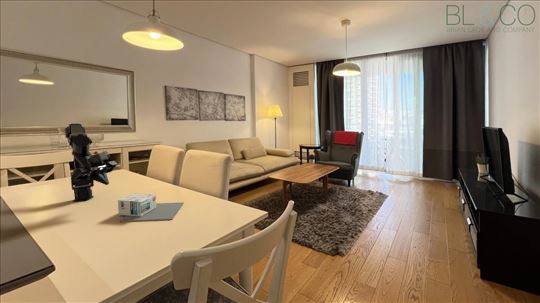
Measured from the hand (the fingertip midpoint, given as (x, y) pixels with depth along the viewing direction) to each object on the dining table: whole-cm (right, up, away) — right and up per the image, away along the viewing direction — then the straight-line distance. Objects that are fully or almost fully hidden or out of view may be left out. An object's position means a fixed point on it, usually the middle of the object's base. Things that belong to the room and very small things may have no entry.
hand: (107, 184), depth 110 cm
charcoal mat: (+21, -12, 0) cm, 24 cm away
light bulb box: (+9, -8, -1) cm, 12 cm away
